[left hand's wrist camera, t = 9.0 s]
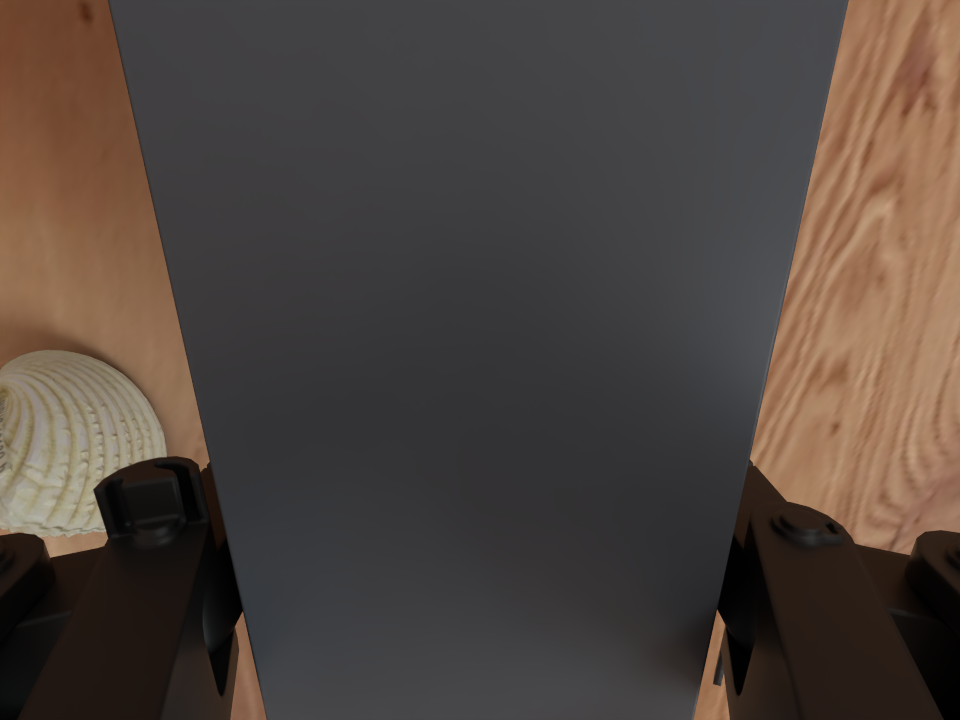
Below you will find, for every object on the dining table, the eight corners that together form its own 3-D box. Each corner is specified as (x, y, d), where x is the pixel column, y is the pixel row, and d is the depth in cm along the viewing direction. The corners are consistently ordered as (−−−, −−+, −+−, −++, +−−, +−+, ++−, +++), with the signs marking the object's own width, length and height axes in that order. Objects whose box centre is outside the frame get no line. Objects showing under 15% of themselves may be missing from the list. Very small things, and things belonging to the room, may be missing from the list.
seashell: (38, 303, 21) (123, 466, 20) (156, 362, 30) (223, 482, 28) (-170, 417, 20) (-100, 605, 18) (13, 447, 28) (75, 579, 26)
